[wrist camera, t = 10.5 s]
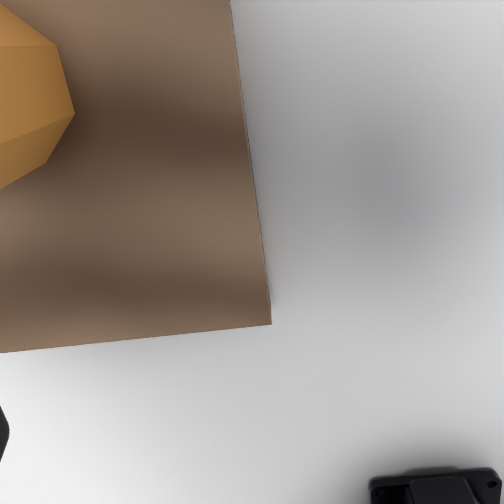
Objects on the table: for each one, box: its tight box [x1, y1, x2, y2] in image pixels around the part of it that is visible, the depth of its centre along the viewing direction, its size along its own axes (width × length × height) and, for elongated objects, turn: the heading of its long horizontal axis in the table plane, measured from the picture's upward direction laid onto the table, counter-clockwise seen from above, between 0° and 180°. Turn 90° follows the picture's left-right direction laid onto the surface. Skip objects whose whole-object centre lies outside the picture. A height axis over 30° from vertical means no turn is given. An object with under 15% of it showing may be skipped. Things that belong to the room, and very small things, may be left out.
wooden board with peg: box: [0, 0, 272, 353], centre depth 14 cm, size 16×12×6 cm
